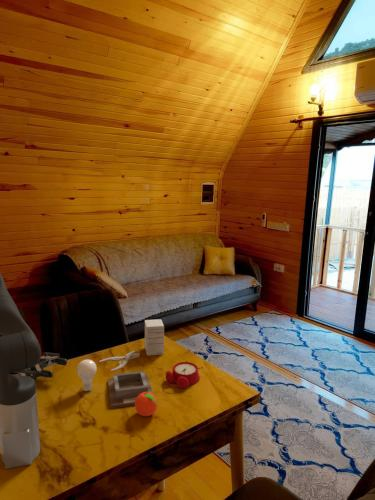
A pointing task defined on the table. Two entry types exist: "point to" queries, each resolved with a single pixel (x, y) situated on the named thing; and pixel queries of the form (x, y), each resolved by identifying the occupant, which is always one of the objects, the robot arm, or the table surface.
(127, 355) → the pliers
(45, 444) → the table surface
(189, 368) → the alarm clock
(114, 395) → the socket stand
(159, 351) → the supplement box
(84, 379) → the lightbulb
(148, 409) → the clementine
